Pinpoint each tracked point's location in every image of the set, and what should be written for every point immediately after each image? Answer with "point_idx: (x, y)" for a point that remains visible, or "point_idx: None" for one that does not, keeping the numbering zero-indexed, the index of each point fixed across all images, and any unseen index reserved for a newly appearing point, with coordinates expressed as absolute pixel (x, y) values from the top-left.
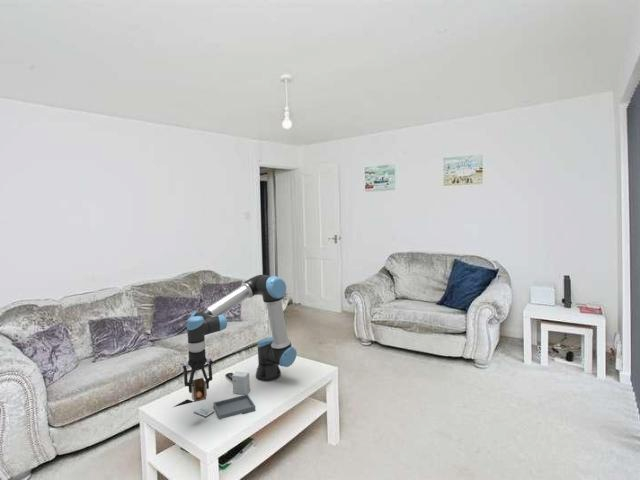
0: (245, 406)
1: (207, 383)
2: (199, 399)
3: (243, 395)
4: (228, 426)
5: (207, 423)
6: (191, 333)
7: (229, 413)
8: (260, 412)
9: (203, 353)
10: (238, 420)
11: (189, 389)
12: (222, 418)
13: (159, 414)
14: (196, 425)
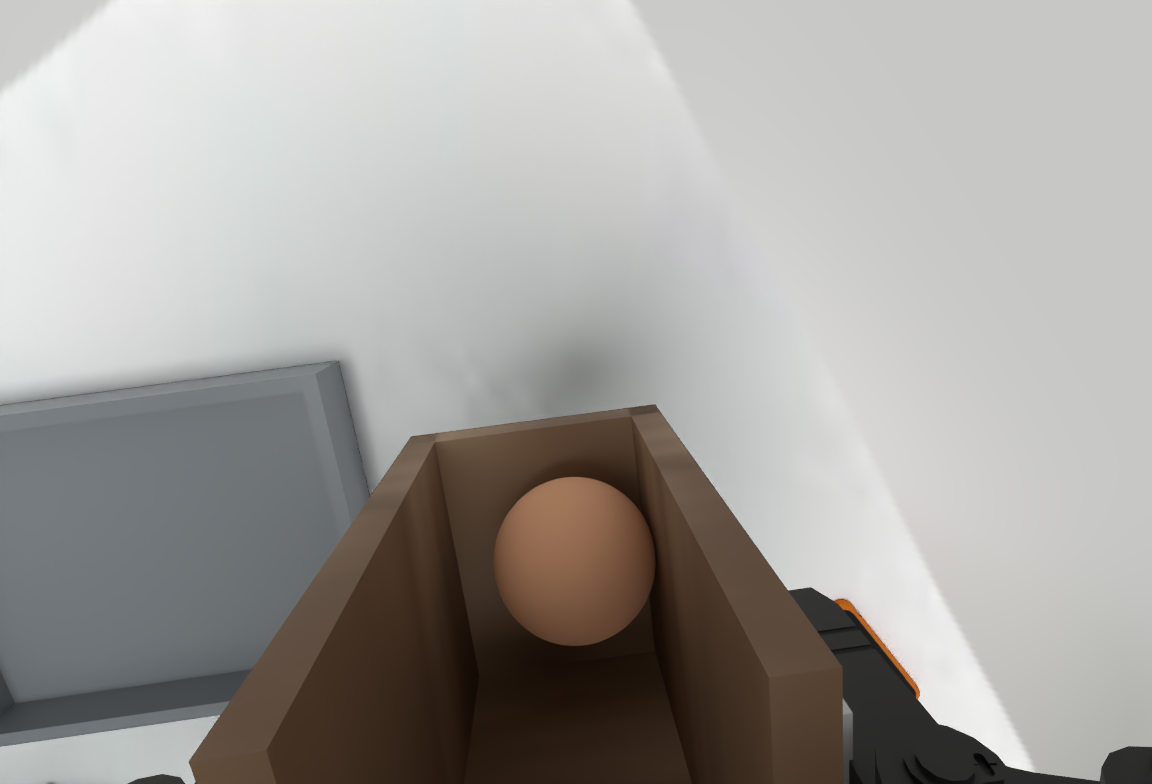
0: (18, 534)
1: (167, 776)
2: (552, 428)
3: (19, 736)
4: (224, 186)
5: (473, 352)
6: None
7: (185, 388)
8: None
9: None
10: (103, 276)
11: (874, 661)
12: (295, 369)
13: (927, 692)
14: (593, 357)
